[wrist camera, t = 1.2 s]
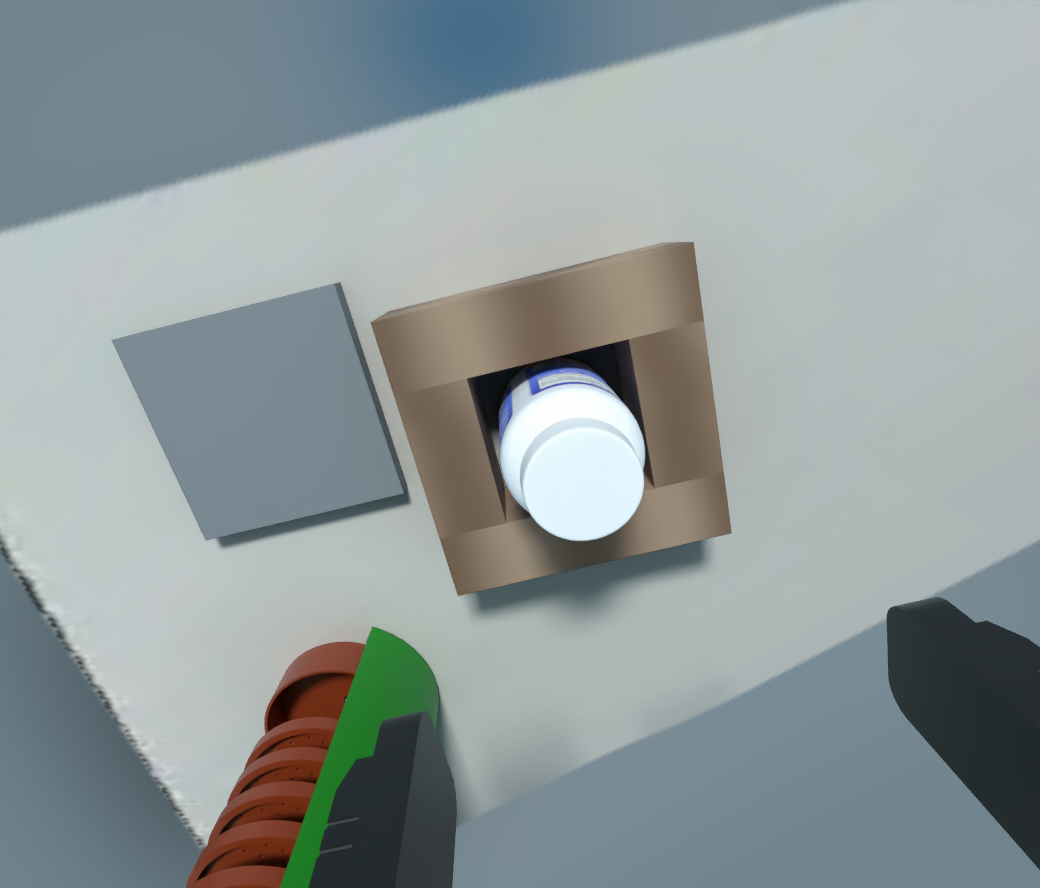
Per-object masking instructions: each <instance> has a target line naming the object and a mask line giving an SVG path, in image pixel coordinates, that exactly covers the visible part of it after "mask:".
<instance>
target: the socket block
mask: <svg viewBox="0 0 1040 888" xmlns="http://www.w3.org/2000/svg"><path fill="white" fill-rule="evenodd" d="M371 325H372V328H373V331H374V334H375V338H376V341H377V344H378V347H379V350H380V353H381V356H382V359H383V363H384V366H385V369H386V372H387V375H388V378H389V381H390V384H391V388H392V391H393V394H394V397H395V400H396V403H397V406H398V410H399V413H400V416H401V419H402V422H403V425H404V428H405V431H406V435H407V438H408V441H409V444H410V447H411V450H412V453H413V456H414V460H415V463H416V466H417V469H418V472H419V475H420V478H421V482H422V485H423V488H424V491H425V494H426V497H427V500H428V503H429V507H430V510H431V513H432V516H433V519H434V522H435V525H436V528H437V532H438V535H439V538H440V541H441V544H442V547H443V550H444V554H445V557H446V560H447V563H448V566H449V569H450V572H451V575H452V579H453V582H454V585H455V588H456V591H457V594H458V596H460V595H464V594H468V593H473V592H477V591H481V590H486V589H490V588H495V587H499V586H503V585H508V584H512V583H516V582H521V581H525V580H529V579H534V578H538V577H543V576H547V575H551V574H556V573H560V572H564V571H569V570H573V569H578V568H582V567H586V566H591V565H595V564H599V563H604V562H608V561H612V560H617V559H621V558H626V557H630V556H634V555H639V554H643V553H647V552H652V551H656V550H660V549H665V548H669V547H674V546H678V545H682V544H687V543H691V542H695V541H700V540H704V539H709V538H713V537H717V536H722V535H726V534H730V533H731V525H730V517H729V510H728V502H727V495H726V487H725V479H724V472H723V464H722V456H721V449H720V441H719V433H718V426H717V418H716V411H715V403H714V395H713V388H712V380H711V372H710V365H709V357H708V350H707V342H706V334H705V327H704V319H703V311H702V304H701V296H700V289H699V281H698V273H697V266H696V258H695V250H694V243H693V242H673V243H661V244H657V245H653V246H649V247H645V248H641V249H637V250H633V251H629V252H625V253H621V254H617V255H613V256H609V257H605V258H601V259H597V260H593V261H589V262H585V263H581V264H577V265H573V266H569V267H565V268H561V269H557V270H553V271H549V272H545V273H541V274H537V275H533V276H529V277H525V278H521V279H517V280H513V281H509V282H505V283H501V284H497V285H493V286H489V287H485V288H481V289H477V290H473V291H469V292H465V293H461V294H457V295H453V296H449V297H445V298H441V299H437V300H433V301H429V302H425V303H421V304H417V305H413V306H409V307H405V308H401V309H397V310H393V311H389V312H387V313H385V314H384V315H382V316H381V317H379V318H377V319H376V320H374V321H372V322H371ZM611 343H613V345H614V350H615V356H616V361H617V367H618V372H619V378H620V383H621V388H622V394H623V399H624V404H625V405H626V407H627V408H628V409H629V410H630V412H631V413H632V415H633V416H634V418H635V419H636V421H637V423H638V425H639V428H640V430H641V433H642V436H643V440H644V445H645V463H644V469H643V474H644V489H643V494H642V498H641V501H640V504H639V506H638V508H637V510H636V511H635V513H634V514H633V516H632V517H631V518H630V519H629V520H628V521H627V522H626V523H625V524H624V525H623V526H622V527H621V528H619V529H618V530H616V531H615V532H613V533H611V534H609V535H607V536H605V537H601V538H599V539H594V540H588V541H574V540H568V539H563V538H560V537H557V536H555V535H553V534H551V533H549V532H548V531H546V530H545V529H543V528H542V527H541V526H540V525H539V524H538V523H537V522H536V521H535V520H534V519H533V517H532V516H531V515H530V513H529V512H528V511H526V510H525V509H524V508H523V507H522V506H521V505H520V504H519V503H518V502H517V501H516V500H515V499H514V497H513V496H512V494H511V493H510V491H509V489H508V487H505V485H504V482H503V478H502V474H501V470H500V467H499V463H498V459H497V455H496V452H495V448H494V444H493V441H492V437H491V433H490V429H489V426H488V422H487V418H486V415H485V411H484V407H483V403H482V400H481V396H480V392H479V388H478V385H477V381H476V377H475V376H479V375H484V374H488V373H492V372H496V371H500V370H504V369H508V368H512V367H516V366H521V365H525V364H529V363H533V362H537V361H541V360H545V359H549V358H553V357H557V356H562V355H566V354H570V353H574V352H578V351H582V350H586V349H590V348H594V347H598V346H603V345H607V344H611Z"/></svg>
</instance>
